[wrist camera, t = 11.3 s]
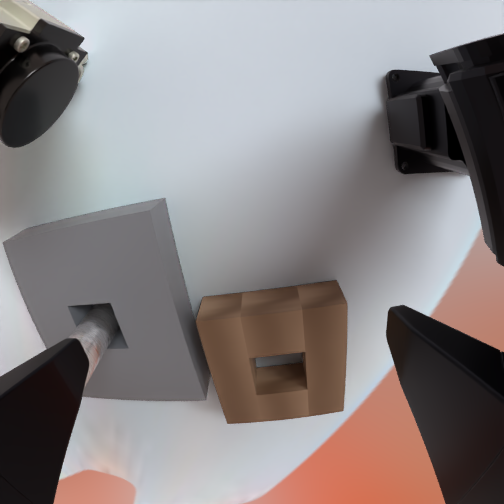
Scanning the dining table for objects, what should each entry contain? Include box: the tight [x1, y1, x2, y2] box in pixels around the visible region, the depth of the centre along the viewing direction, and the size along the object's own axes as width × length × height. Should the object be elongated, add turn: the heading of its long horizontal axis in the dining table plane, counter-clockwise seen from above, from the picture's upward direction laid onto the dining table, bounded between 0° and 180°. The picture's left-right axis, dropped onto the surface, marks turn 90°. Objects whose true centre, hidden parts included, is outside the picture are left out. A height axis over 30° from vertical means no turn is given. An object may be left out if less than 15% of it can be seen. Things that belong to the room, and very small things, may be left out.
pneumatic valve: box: [0, 0, 88, 148], centre depth 10 cm, size 6×12×12 cm, turn 48°
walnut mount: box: [196, 280, 347, 424], centre depth 22 cm, size 9×10×3 cm
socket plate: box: [3, 198, 210, 401], centre depth 20 cm, size 12×14×3 cm
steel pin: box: [69, 303, 120, 388], centre depth 18 cm, size 2×2×8 cm
